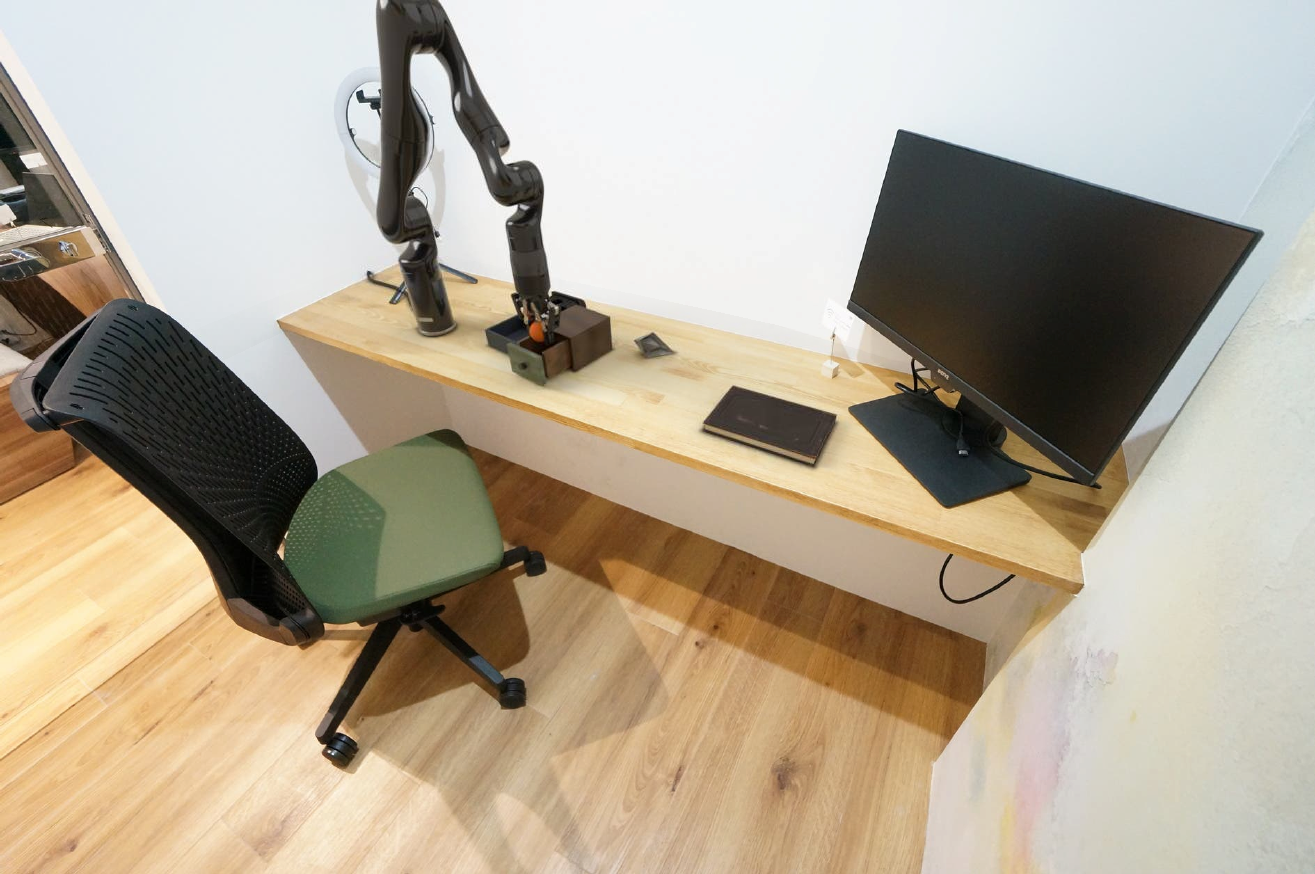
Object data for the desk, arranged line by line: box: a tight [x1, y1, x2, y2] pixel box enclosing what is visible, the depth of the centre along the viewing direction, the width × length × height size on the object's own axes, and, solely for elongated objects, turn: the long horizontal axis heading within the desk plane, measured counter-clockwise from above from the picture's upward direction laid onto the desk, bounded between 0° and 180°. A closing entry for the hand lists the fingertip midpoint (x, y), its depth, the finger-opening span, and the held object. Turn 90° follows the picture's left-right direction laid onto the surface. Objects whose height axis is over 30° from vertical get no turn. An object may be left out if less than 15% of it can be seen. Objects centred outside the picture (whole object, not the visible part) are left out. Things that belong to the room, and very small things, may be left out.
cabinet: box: [545, 305, 613, 373], centre depth 130 cm, size 14×12×9 cm
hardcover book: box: [702, 384, 838, 468], centre depth 109 cm, size 16×23×2 cm
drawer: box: [507, 334, 572, 387], centre depth 124 cm, size 14×10×7 cm
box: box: [484, 313, 538, 356], centre depth 136 cm, size 14×12×5 cm
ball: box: [530, 321, 547, 342], centre depth 120 cm, size 5×5×5 cm
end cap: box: [544, 290, 587, 315], centre depth 146 cm, size 10×7×7 cm
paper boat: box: [632, 331, 675, 358], centre depth 130 cm, size 12×6×9 cm
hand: (541, 340), depth 122 cm, fingers closed on ball, 4 cm apart
